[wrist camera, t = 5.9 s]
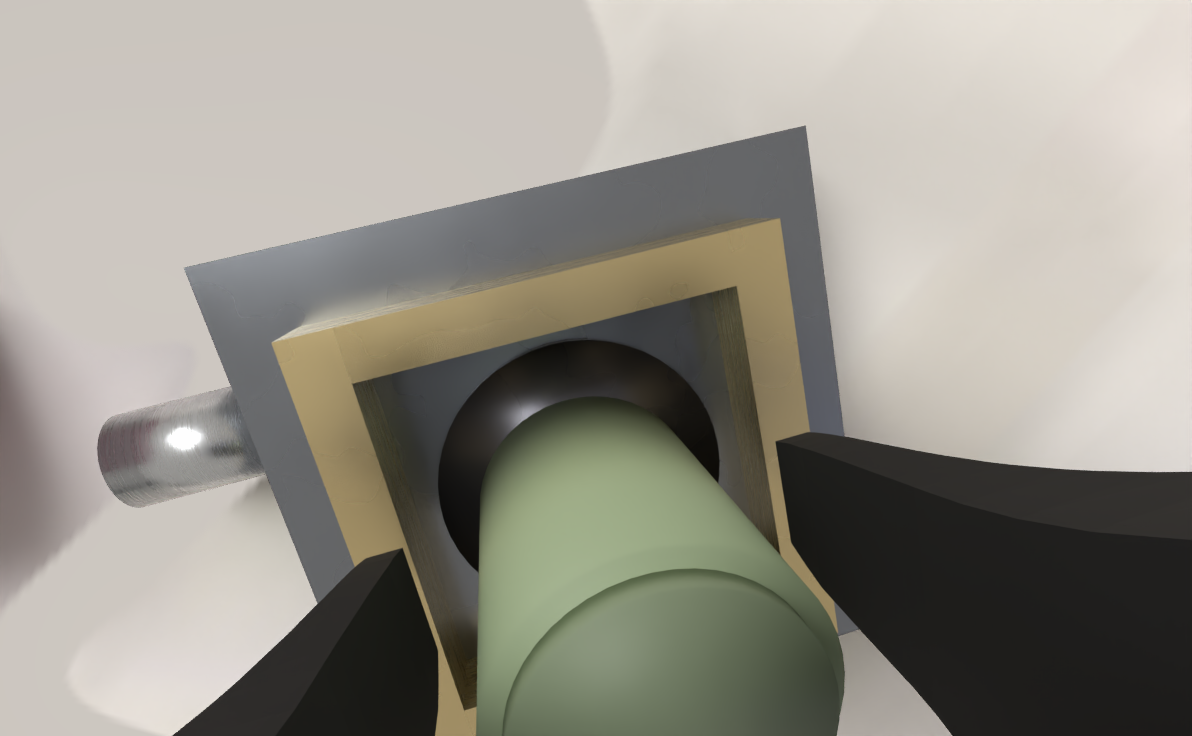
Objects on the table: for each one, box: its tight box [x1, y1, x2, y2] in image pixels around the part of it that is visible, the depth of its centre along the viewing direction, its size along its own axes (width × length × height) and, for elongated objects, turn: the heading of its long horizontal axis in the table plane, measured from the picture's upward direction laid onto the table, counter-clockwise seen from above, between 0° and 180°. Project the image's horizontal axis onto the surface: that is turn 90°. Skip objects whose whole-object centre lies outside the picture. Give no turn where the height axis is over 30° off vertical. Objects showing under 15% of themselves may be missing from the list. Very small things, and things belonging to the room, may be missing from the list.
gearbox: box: [97, 126, 859, 736], centre depth 14 cm, size 15×12×4 cm
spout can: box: [476, 396, 845, 736], centre depth 10 cm, size 5×5×8 cm
